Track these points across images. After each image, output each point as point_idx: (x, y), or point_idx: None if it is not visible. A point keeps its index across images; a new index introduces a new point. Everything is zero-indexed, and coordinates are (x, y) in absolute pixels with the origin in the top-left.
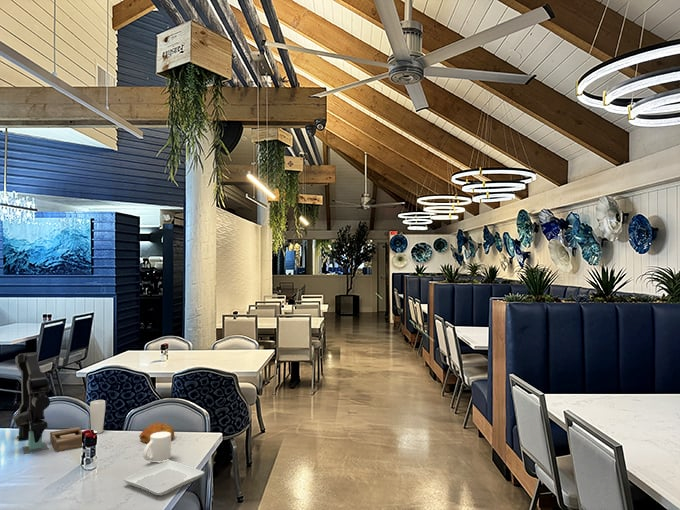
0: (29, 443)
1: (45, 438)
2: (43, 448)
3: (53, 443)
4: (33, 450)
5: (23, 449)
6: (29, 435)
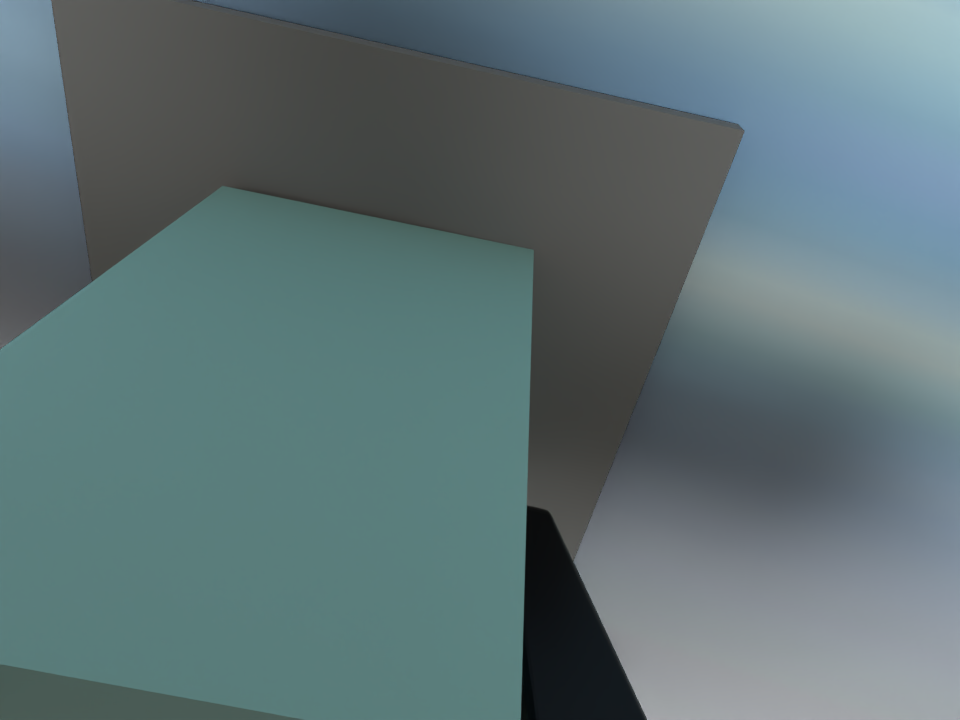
0: (266, 278)
1: (909, 686)
2: None
3: None
4: None
5: (441, 77)
6: (204, 498)
